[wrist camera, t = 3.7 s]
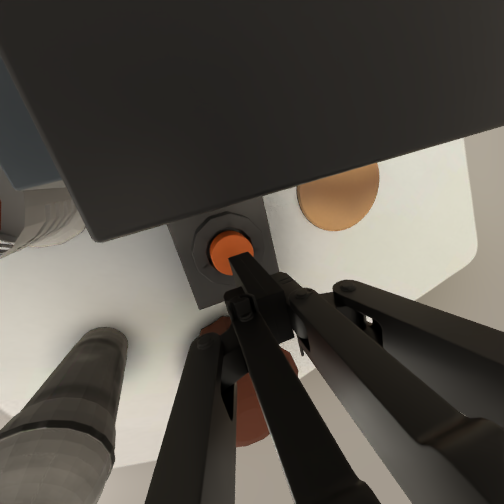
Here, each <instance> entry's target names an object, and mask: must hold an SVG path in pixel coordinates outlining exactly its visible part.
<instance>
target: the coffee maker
mask: <svg viewBox="0 0 504 504" xmlns="http://www.w3.org/2000/svg"><path fill="white" fill-rule="evenodd" d="M501 126H504V0H0V166H1V168H2V170H3V171H4V173H5V175H6V177H7V178H8V180H9V182H10V183H11V185H12V187H13V188H14V189H15V190H17V191H23V190H37V189H50V188H64V187H66V188H67V190H68V192H69V194H70V196H71V198H72V200H73V202H74V204H75V206H76V208H77V210H78V212H79V214H80V216H81V218H82V220H83V222H84V224H85V226H86V228H87V230H88V232H89V234H90V236H91V238H92V239H93V240H94V241H95V242H102V243H103V242H106V241H109V240H113V239H116V238H120V237H123V236H127V235H130V234H133V233H137V232H140V231H144V230H147V229H151V228H154V227H158V226H161V225H164V224H168V223H171V222H175V221H178V220H182V219H185V218H188V217H192V216H195V215H199V214H202V213H206V212H209V211H213V210H216V209H219V208H223V207H226V206H230V205H233V204H237V203H240V202H243V201H247V200H250V199H254V198H257V197H261V196H264V195H268V194H271V193H274V192H278V191H281V190H285V189H288V188H292V187H295V186H298V185H302V184H305V183H309V182H312V181H316V180H319V179H323V178H326V177H329V176H333V175H336V174H340V173H343V172H347V171H350V170H353V169H357V168H360V167H364V166H367V165H371V164H374V163H378V162H381V161H384V160H388V159H391V158H395V157H398V156H402V155H405V154H408V153H412V152H415V151H419V150H422V149H426V148H429V147H433V146H436V145H439V144H443V143H446V142H450V141H453V140H457V139H460V138H463V137H467V136H470V135H473V134H477V133H481V132H484V131H487V130H491V129H494V128H498V127H501Z"/></svg>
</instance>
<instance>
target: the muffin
mask: <svg viewBox="0 0 504 504" xmlns="http://www.w3.org/2000/svg"><path fill="white" fill-rule="evenodd" d="M230 325H231V319H230V317H226V316H222V317H221V318H219V319H218V320H217V321H215V322H214V323H213V324H211V325H209V326H207V327H205V328H203V329H201V332H200V335H199V336H201V335H202V334H205V333H210V332H214V333H218V334H219V335H221V334H222V333H224V332H225V331H226V330H227V329H228V328H229V327H230ZM280 348H281V347H280ZM281 349H282V351H283V353H284V354H285V356H286V358H287V360H288V361H289V363H290V365H291V366H292V368H293V370H294V371H295V373H296V375H297V376H298V369H297V366H296V364H295V362H294V360H293V358H292V356H291V354H290V353H289V352H288V351H286V350H284V349H283V348H281ZM269 434H270V432H269V429H268V427H267V424H266V421H265V418H264V415H263V412H262V409H261V406H260V404H259V401H258V398H257V395H256V392H255V389H254V386H253V383H252V380H251V378H250V375H249V372H248V373H247V374H246V375H244V376H243V377H242V378H241V379H239V380H238V381H237V423H236V447H242V446H248V445H250V444H253V443H255V442H257V441H260V440H262V439H264V438H265V437H267V436H268V435H269Z"/></svg>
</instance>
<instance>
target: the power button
mask: <svg viewBox="0 0 504 504" xmlns="http://www.w3.org/2000/svg"><path fill="white" fill-rule="evenodd" d="M247 251H248V252H249V253H250V254H251V255H252V256H254V251H253V247H252V245H251V243H250V242H249V241H248V240H247V239H246V238H245V237H244V236H243V235H242V234H240V233H239V232H236V231H225V232H222V233H220V234H218V235H217V236H216V237H215V238H214V239H213V241H212V243H211V246H210V256H211V259H212V262H213V264H214V266H215V268H216V269H217V270H218V271H220V272H221V273H223V274H226V275H233V273H232V270H231V267H230V263H229V260H228V258H229V257H232V256H235V255H238V254H241V253H244V252H247Z"/></svg>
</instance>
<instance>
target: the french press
mask: <svg viewBox="0 0 504 504" xmlns="http://www.w3.org/2000/svg"><path fill="white" fill-rule="evenodd" d="M85 227H86V226H85V224H84V222H83V220H82V218H81V216H80V214H79V212H78V210H77V208H76V206H75V204H74V202H73V200H72V198H71V196H70V194H69V192H68V190H67V188H66V187H64V188H50V189H37V190H23V191H17V190H15V189H14V188H13V187H12V185H11V183H10V182H9V180H8V178H7V177H6V175H5V173H4V171H3V170H2V168H1V166H0V240H1V241H4V242H8V243H10V244H14V245H9V244H0V247H7V248H11V249H9V250H1V249H0V253H3V254H0V259H1V258H3V257H6V256H8V255H9V254H11V253H14V252H16V251H19V250H21V249H23V248H25V247H28V246H29V247H36V248H41V247H47V246H52V245H58V244H63V243H65V242H67V241H68V240H70V239H71V238H73V237H75V236H76V235H78V234H80V233H81V232H82V231H83V230H84V228H85ZM21 246H23V247H21ZM17 249H18V250H17ZM4 252H5V253H4Z"/></svg>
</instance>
